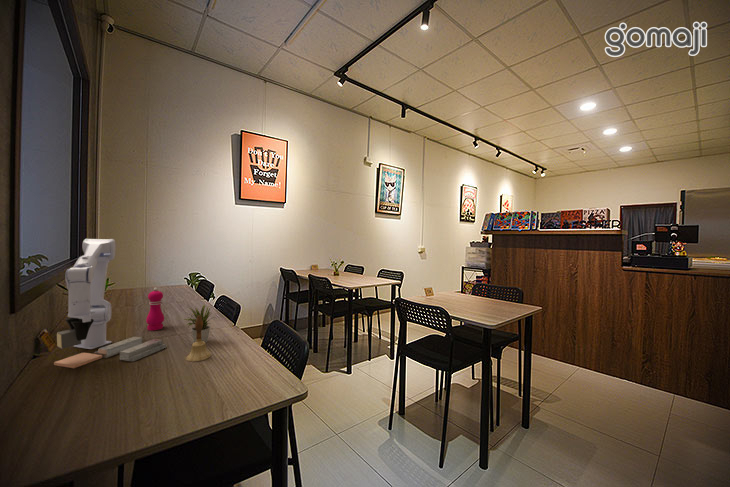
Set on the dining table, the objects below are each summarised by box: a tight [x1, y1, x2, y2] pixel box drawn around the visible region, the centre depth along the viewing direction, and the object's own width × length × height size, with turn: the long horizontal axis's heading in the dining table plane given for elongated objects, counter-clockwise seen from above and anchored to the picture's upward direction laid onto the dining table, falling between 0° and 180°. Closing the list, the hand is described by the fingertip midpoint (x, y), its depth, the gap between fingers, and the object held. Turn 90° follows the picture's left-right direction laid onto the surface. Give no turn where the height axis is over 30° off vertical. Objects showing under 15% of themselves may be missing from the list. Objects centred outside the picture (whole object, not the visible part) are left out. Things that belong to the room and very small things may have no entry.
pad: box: [53, 352, 103, 369], centre depth 107 cm, size 9×9×1 cm
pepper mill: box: [145, 287, 165, 332], centre depth 145 cm, size 7×7×20 cm
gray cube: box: [56, 328, 81, 350], centre depth 105 cm, size 4×5×5 cm
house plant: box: [183, 304, 217, 344], centre depth 130 cm, size 14×14×16 cm
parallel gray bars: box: [93, 336, 167, 363], centre depth 117 cm, size 18×14×3 cm
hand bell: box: [185, 314, 212, 363], centre depth 114 cm, size 8×8×16 cm
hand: (79, 338), depth 107 cm, fingers closed on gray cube, 4 cm apart
